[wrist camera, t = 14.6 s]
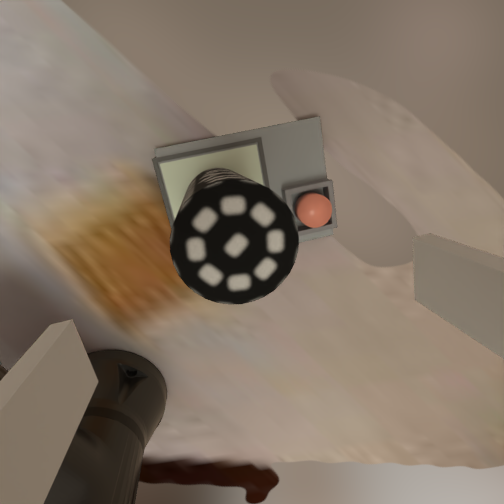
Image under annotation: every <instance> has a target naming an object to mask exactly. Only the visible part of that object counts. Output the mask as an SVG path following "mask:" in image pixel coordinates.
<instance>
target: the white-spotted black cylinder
mask: <svg viewBox="0 0 504 504" xmlns="http://www.w3.org/2000/svg"><path fill="white" fill-rule="evenodd" d="M298 245H299V235H298V227H297V224H296V221H295V218H294V215H293V213H292V212H291V210H290V208H289V206H288V205H287V204H286V203H285V201H284V200H283V199H282V198H281V197H280V196H279V195H278V194H276V193H275V192H274V191H272V190H271V189H270V188H268V187H266V186H264V185H262V184H259V183H257V182H255V181H253V180H251V179H249V178H247V177H244V176H242V175H240V174H238V173H236V172H234V171H232V170H229V169H225V168H212V169H208V170H205V171H203V172H201V173H200V174H198V175H197V176H196V177H195V178H194V179H193V180H192V181H191V183H190V184H189V186H188V189H187V191H186V193H185V196H184V198H183V201H182V203H181V206H180V208H179V211H178V213H177V216H176V218H175V221H174V223H173V226H172V230H171V236H170V253H171V257H172V261H173V264H174V266H175V268H176V271H177V273H178V275H179V276H180V277H181V279H182V280H183V281H184V283H185V284H186V285H187V286H188V287H189V288H190V289H192V290H193V291H194V292H195V293H197V294H198V295H200V296H202V297H204V298H205V299H208V300H211V301H214V302H217V303H223V304H243V303H248V302H252V301H255V300H257V299H260V298H262V297H264V296H266V295H267V294H269V293H271V292H272V291H274V290H275V289H276V288H277V287H278V286H279V285H280V284H281V283H282V282H283V281H284V280H285V278H286V277H287V276H288V274H289V273H290V271H291V269H292V267H293V265H294V263H295V260H296V257H297V253H298Z"/></svg>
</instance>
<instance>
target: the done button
mask: <svg viewBox="0 0 504 504" xmlns="http://www.w3.org/2000/svg"><path fill="white" fill-rule="evenodd" d="M294 212H295V215H296V217H297V219H298V220H299V221H301V222H302V223H304V224H305V225H307V226H308V227H311V228H318V227H321V226H323V225H325V224H326V223H327V222H328V221H329V219H330V217H331V214H332V205H331V203H330V201H329V200H328V199H327V198H326V197H325V196H323V195H320V194H317V193H313V192H309V193H305V194H303V195H301V196H300V197H299V198H298V199H297V201H296V203H295V207H294Z"/></svg>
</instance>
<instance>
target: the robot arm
mask: <svg viewBox="0 0 504 504" xmlns="http://www.w3.org/2000/svg"><path fill="white" fill-rule="evenodd" d="M413 264H414V293H415V300H416V301H417V302H419V303H420V304H422V305H423V306H425V307H426V308H428V309H429V310H431V311H432V312H434V313H435V314H437V315H438V316H440V317H441V318H443V319H444V320H446V321H447V322H449V323H450V324H452V325H454V326H455V327H457V328H458V329H460V330H461V331H463V332H464V333H466V334H467V335H469V336H470V337H472V338H473V339H475V340H476V341H478V342H479V343H481V344H482V345H484V346H485V347H487V348H488V349H490V350H491V351H493V352H494V353H496V354H497V355H499V356H500V357H502V358H503V359H504V258H503V257H500V256H497V255H494V254H491V253H488V252H485V251H482V250H479V249H476V248H473V247H470V246H467V245H464V244H461V243H458V242H455V241H452V240H449V239H446V238H443V237H440V236H437V235H434V234H431V233H430V234H426V235H422V236H417V237H414V238H413ZM1 364H2V363H1V362H0V504H135V499H136V494H137V488H138V482H139V476H140V471H141V465H142V459H143V453H144V449H145V447H146V445H147V443H148V442H149V440H150V438H151V436H152V435H153V433H154V431H155V429H156V428H157V426H158V425H159V423H160V422H161V419H162V417H163V414H164V411H165V405H166V397H167V390H166V385H165V381H164V379H163V377H162V375H161V374H160V372H159V371H158V370H157V368H156V367H155V366H154V365H153V364H151V363H150V362H149V361H147V360H146V359H144V358H142V357H140V356H138V355H136V354H133V353H130V352H125V351H119V350H104V351H98V352H93V353H90V354H87V353H86V350H85V348H84V346H83V343H82V341H81V338H80V336H79V334H78V331H77V329H76V326H75V324H74V322H73V319H71V320H67V321H63V322H59V323H55V324H50V326H49V327H48V328H47V329H46V330H45V331H44V332H43V333H42V335H41V336H40V337H39V338H38V339H37V340H36V341H35V342H34V344H33V345H32V346H31V347H30V348H29V349H28V350H27V351H26V353H25V354H24V355H23V356H22V357H21V358H20V359H19V360H18V362H17V363H16V364H15V365H14V366H13V367H12V368H11V369H10V371H7V370H6V369H5V368H4V367H3V366H1Z"/></svg>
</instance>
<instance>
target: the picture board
mask: <svg viewBox="0 0 504 504" xmlns="http://www.w3.org/2000/svg"><path fill="white" fill-rule="evenodd" d="M154 151H155V155H156V158H153V159H152V161H153V165H154V168H155V172H156V176H157V179H158V183H159V186H160V190H161V194H162V197H163V201H164V204H165V208H166V211H167V215H168V219H169V222H170V226H171V229H172V226H173V223H174V221H175V218H176V216H177V213H178V211H179V208H180V206H181V203H182V201H183V198H184V196H185V193H186V191H187V189H188V186H189V184H190V183H191V181H192V180H193V179H194V178H195V177H196V176H197V175H198V174H200V173H201V172H203V171H205V170H208V169H212V168H225V169H229V170H232V171H234V172H236V173H238V174H240V175H242V176H244V177H247V178H249V179H251V180H253V181H255V182H257V183H259V184H262V185H264V186H266V187H268V188H270V189H271V190H272V191H274V192H275V193H276V194H278V195H279V196H280V197H281V198H282V199H283V200H284V201H285V203H286V204H287V205H288V206H289V208H290V210H291V212H292V213H293V215H294V218H295V221H296V224H297V227H298V235H299V243H300V242H304V241H308V240H313V239H317V238H321V237H325V236H330V235H333V228H337V218H336V209H335V200H334V192H333V182H332V180H328V179H327V175H326V167H325V158H324V149H323V140H322V131H321V123H320V116H319V117H314V118H309V119H304V120H299V121H294V122H289V123H284V124H278V125H273V126H268V127H263V128H258V129H253V130H249V131H243V132H238V133H233V134H228V135H223V136H218V137H212V138H207V139H202V140H197V141H192V142H187V143H182V144H177V145H172V146H167V147H162V148H157V149H154ZM309 192H313V193H317V194H320V195H323V196H325V197H326V198H327V199H328V200H329V201H330V203H331V205H332V214H331V217H330V219H329V221H328V222H327V223H326V224H325V225H323V226H321V227H318V228H311V227H308V226H307V225H305V224H304V223H302V222H301V221H299V220H298V219H297V217H296V215H295V212H294V207H295V203H296V201H297V199H298V198H299V197H300V196H301V195H303V194H305V193H309Z"/></svg>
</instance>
